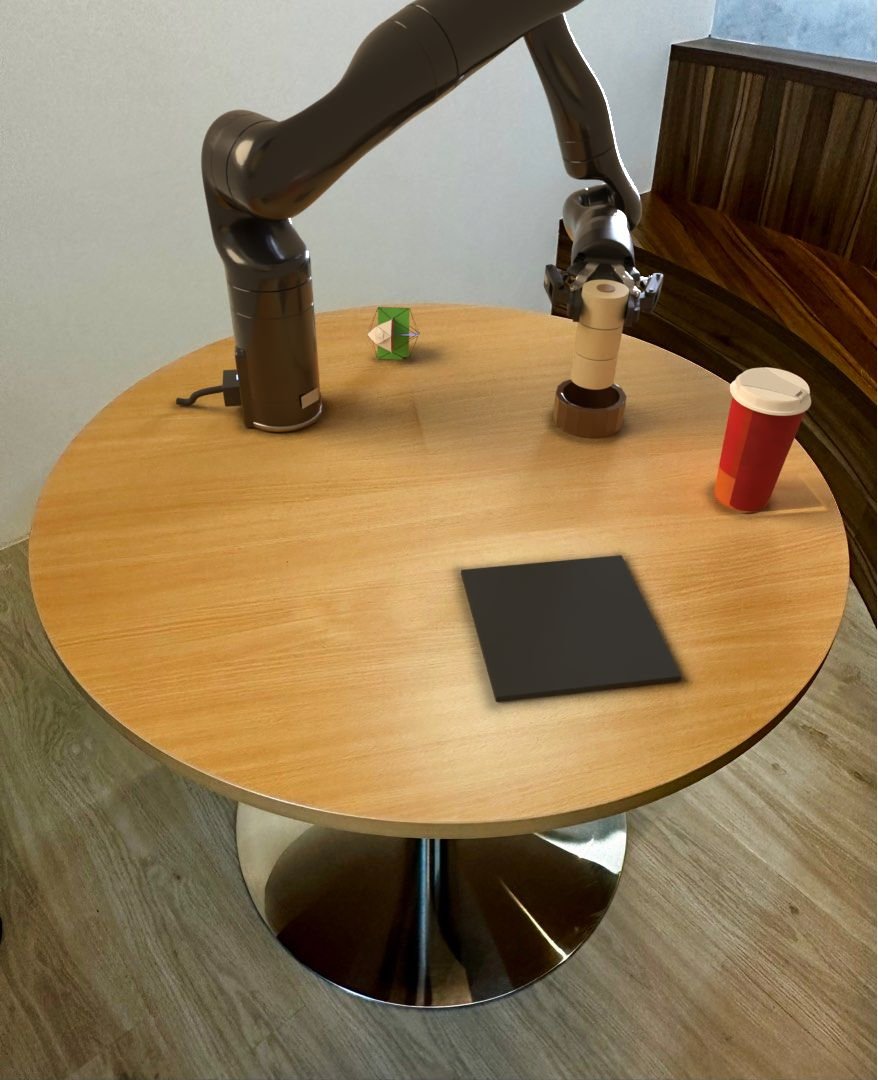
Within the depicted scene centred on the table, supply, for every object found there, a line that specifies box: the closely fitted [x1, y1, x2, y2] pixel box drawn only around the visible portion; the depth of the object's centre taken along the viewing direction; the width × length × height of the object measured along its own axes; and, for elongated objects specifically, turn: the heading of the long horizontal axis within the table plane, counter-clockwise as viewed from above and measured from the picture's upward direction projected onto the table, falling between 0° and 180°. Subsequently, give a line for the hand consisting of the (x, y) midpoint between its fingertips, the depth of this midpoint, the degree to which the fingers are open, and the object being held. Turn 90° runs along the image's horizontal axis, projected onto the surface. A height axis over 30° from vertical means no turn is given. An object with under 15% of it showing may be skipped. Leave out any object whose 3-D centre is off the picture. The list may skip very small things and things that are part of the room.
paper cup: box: [714, 366, 812, 515], centre depth 91 cm, size 8×8×14 cm
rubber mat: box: [460, 554, 683, 702], centre depth 79 cm, size 16×16×1 cm
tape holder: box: [552, 378, 628, 439], centre depth 105 cm, size 8×8×4 cm
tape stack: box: [570, 280, 629, 390], centre depth 99 cm, size 5×5×11 cm
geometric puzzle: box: [365, 306, 421, 361], centre depth 117 cm, size 7×7×8 cm
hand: (603, 316), depth 95 cm, fingers closed on tape stack, 5 cm apart
